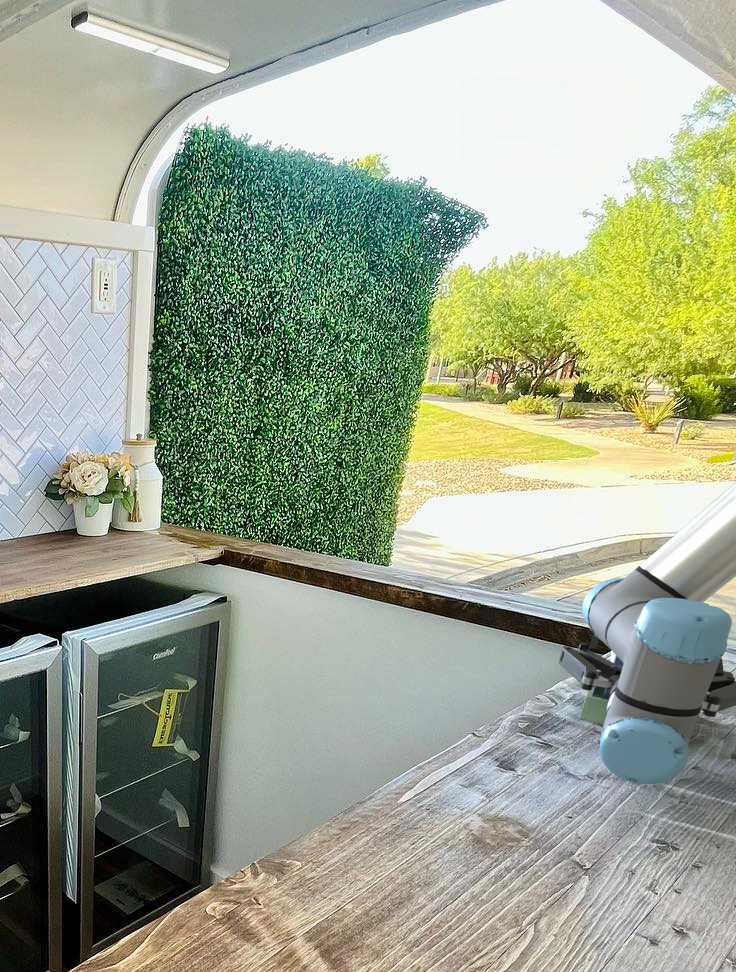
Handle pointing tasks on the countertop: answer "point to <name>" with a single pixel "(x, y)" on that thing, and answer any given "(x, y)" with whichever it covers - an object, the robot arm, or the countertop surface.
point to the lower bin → (594, 706)
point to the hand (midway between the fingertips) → (652, 654)
